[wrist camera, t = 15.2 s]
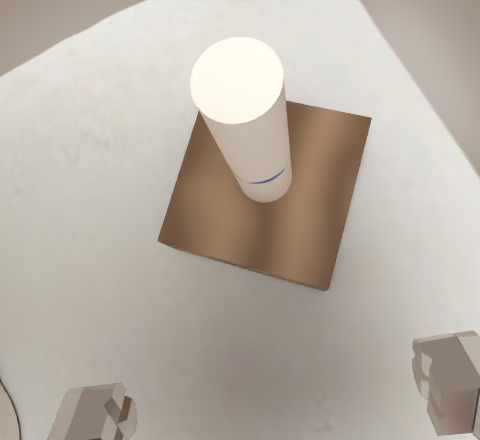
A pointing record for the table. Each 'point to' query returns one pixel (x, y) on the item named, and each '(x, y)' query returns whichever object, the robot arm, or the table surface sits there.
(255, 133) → the tube
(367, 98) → the table surface
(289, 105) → the walnut stand
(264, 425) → the table surface
